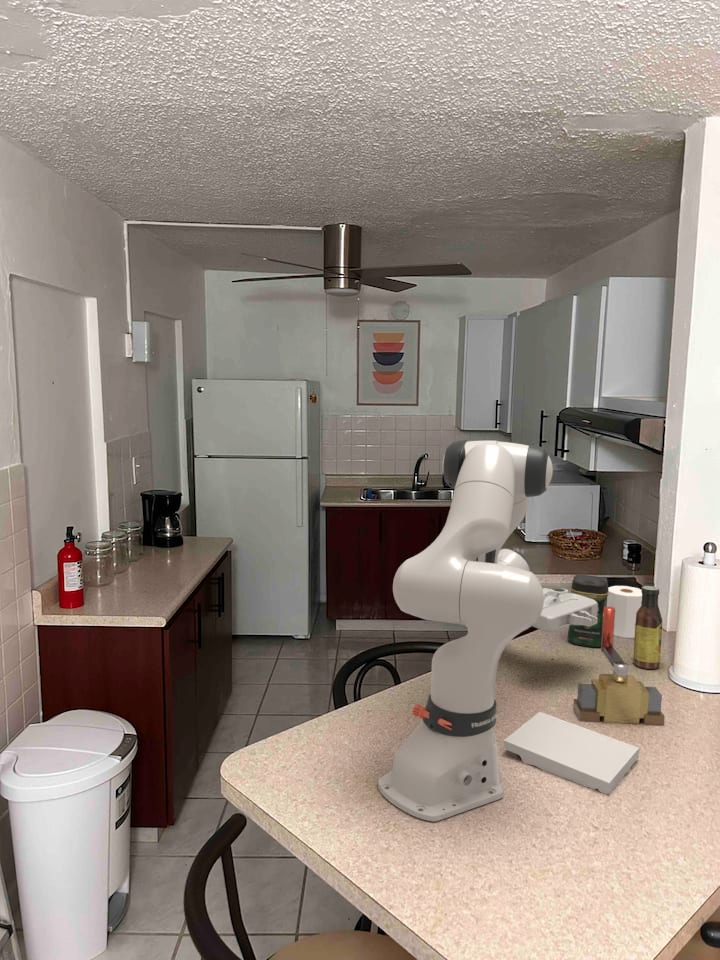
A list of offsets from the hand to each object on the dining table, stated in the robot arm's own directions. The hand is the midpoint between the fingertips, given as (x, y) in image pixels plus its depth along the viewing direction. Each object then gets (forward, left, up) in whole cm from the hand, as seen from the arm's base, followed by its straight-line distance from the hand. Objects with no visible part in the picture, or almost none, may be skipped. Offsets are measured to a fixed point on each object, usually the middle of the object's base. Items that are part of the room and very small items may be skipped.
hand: (594, 622), depth 160 cm
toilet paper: (+41, +15, -16) cm, 47 cm away
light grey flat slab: (-30, -14, -17) cm, 37 cm away
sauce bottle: (+23, -1, -16) cm, 28 cm away
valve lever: (-4, -8, -8) cm, 11 cm away
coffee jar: (+25, +17, -16) cm, 34 cm away
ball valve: (-8, -11, -16) cm, 21 cm away
